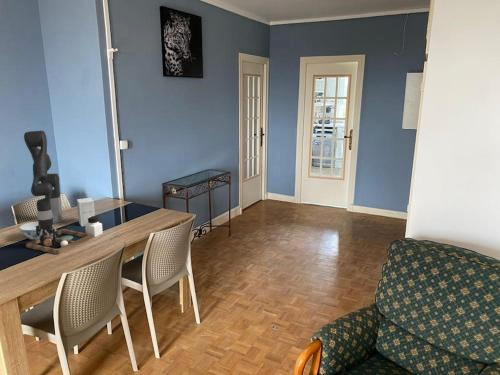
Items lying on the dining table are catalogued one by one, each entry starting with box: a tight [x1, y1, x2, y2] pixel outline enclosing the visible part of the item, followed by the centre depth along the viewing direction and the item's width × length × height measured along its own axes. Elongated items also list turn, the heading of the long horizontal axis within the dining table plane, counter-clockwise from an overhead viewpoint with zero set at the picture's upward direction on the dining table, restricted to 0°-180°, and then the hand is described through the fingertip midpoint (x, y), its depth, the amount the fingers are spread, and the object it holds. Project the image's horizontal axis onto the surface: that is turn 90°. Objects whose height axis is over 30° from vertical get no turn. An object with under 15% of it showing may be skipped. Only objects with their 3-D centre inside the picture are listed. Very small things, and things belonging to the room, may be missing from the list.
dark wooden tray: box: [24, 228, 93, 255], centre depth 223 cm, size 24×26×2 cm
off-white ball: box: [59, 240, 68, 248], centre depth 217 cm, size 4×4×4 cm
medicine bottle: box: [84, 215, 104, 238], centre depth 235 cm, size 7×7×12 cm
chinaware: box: [19, 220, 40, 240], centre depth 229 cm, size 15×15×8 cm
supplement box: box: [76, 197, 96, 227], centre depth 254 cm, size 10×9×17 cm
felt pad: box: [59, 235, 74, 241], centre depth 230 cm, size 8×8×1 cm
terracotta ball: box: [43, 239, 53, 247], centre depth 218 cm, size 4×4×4 cm
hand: (48, 243), depth 218 cm, fingers open, 8 cm apart
